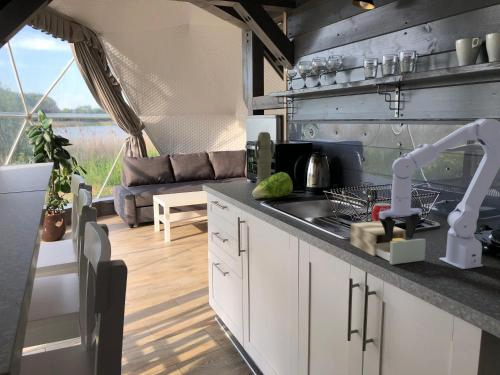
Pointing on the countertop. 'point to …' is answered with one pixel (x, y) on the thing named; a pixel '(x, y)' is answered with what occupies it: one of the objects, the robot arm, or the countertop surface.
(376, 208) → the soda can
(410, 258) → the pale green drawer
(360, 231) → the beige wooden rectangular box
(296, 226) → the countertop surface
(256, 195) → the lettuce
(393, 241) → the block
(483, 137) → the robot arm
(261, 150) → the thermos
